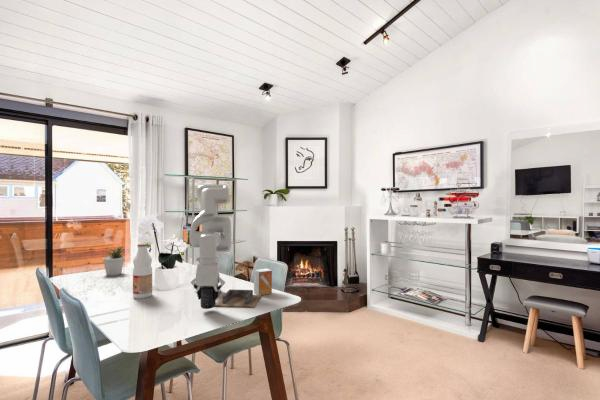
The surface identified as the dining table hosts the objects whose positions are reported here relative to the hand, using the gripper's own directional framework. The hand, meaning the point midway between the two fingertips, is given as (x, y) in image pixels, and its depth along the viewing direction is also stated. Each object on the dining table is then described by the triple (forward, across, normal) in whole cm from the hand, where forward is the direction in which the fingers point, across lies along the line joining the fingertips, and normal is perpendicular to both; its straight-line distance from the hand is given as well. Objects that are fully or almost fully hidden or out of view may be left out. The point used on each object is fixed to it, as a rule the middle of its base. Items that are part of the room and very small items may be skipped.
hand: (208, 298), depth 159 cm
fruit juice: (+8, -43, +21) cm, 48 cm away
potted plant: (+10, -88, +68) cm, 111 cm away
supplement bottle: (+4, 0, 0) cm, 4 cm away
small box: (+7, +20, +31) cm, 38 cm away
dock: (+7, +10, +16) cm, 20 cm away
